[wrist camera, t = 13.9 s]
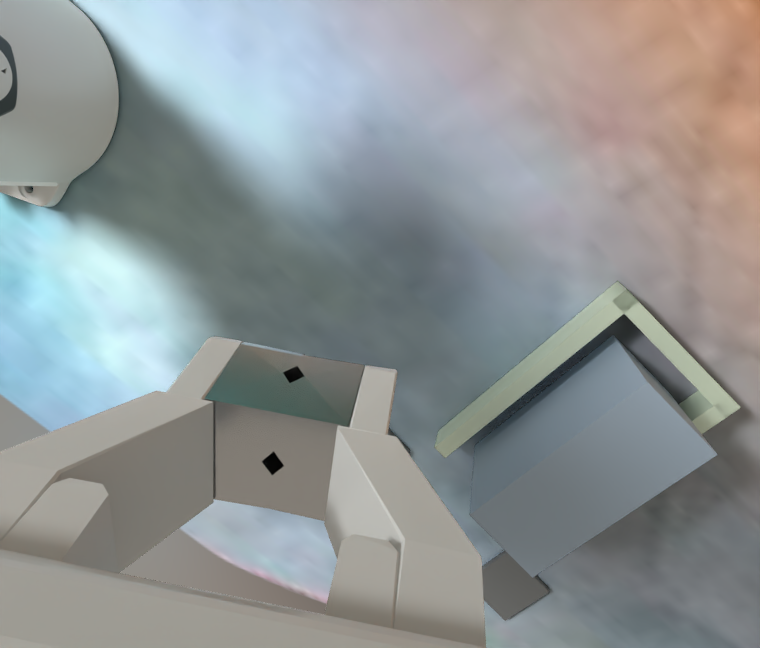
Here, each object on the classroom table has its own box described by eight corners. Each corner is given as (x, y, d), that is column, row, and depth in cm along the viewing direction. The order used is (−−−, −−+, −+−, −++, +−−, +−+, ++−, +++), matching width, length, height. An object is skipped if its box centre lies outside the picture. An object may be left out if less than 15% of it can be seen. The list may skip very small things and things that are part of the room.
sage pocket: (533, 525, 47) (535, 548, 44) (438, 430, 46) (434, 447, 43) (723, 391, 41) (740, 407, 38) (617, 281, 40) (626, 289, 38)
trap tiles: (505, 616, 50) (505, 620, 49) (329, 443, 49) (328, 446, 48) (548, 588, 48) (549, 592, 47) (368, 408, 47) (367, 411, 47)
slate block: (525, 495, 46) (532, 577, 37) (475, 444, 46) (469, 514, 37) (667, 390, 42) (717, 454, 32) (613, 334, 42) (647, 381, 32)
